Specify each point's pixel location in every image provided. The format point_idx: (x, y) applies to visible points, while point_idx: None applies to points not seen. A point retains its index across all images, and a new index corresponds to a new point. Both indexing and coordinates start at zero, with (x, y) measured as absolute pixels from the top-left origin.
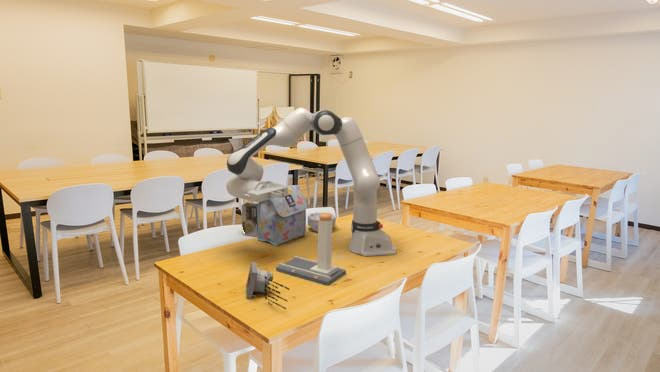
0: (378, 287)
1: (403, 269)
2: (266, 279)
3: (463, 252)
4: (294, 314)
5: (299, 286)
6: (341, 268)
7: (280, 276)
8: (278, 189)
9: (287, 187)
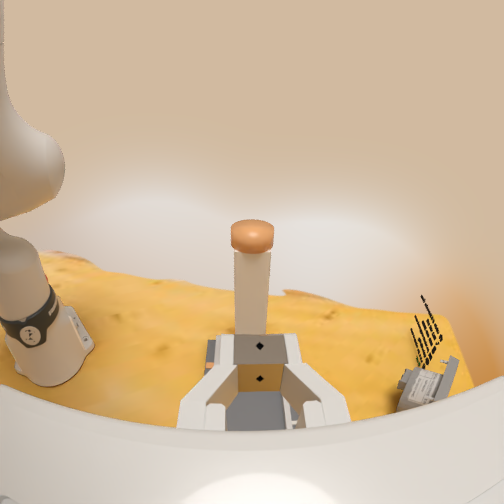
0: (233, 291)
1: (140, 286)
2: (439, 337)
3: (55, 253)
4: (399, 326)
5: (331, 379)
6: (218, 339)
7: None
8: (157, 426)
9: (4, 385)
